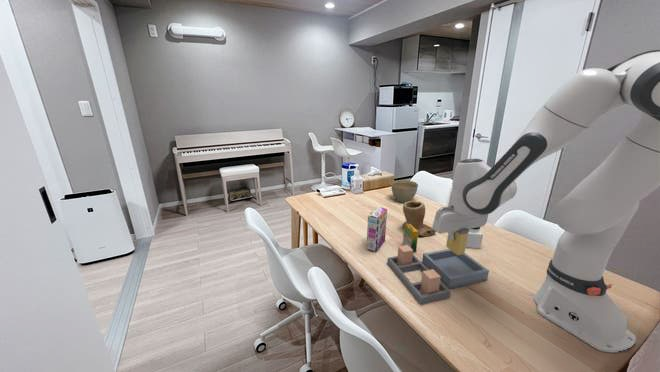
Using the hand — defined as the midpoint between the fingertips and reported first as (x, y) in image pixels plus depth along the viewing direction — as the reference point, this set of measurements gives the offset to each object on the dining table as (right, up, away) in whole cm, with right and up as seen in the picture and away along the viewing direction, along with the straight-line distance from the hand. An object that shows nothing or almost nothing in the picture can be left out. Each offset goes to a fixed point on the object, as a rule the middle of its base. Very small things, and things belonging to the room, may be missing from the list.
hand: (457, 239), depth 96 cm
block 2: (-13, -17, -7) cm, 22 cm away
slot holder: (-15, -14, 0) cm, 21 cm away
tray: (0, -13, +4) cm, 13 cm away
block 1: (-17, -12, +8) cm, 22 cm away
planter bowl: (0, +10, +72) cm, 73 cm away
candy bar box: (-26, -7, +22) cm, 35 cm away
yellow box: (0, -4, +2) cm, 5 cm away
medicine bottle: (+16, -7, +22) cm, 28 cm away
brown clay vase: (-4, -3, +34) cm, 34 cm away
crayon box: (-11, -8, +20) cm, 24 cm away
